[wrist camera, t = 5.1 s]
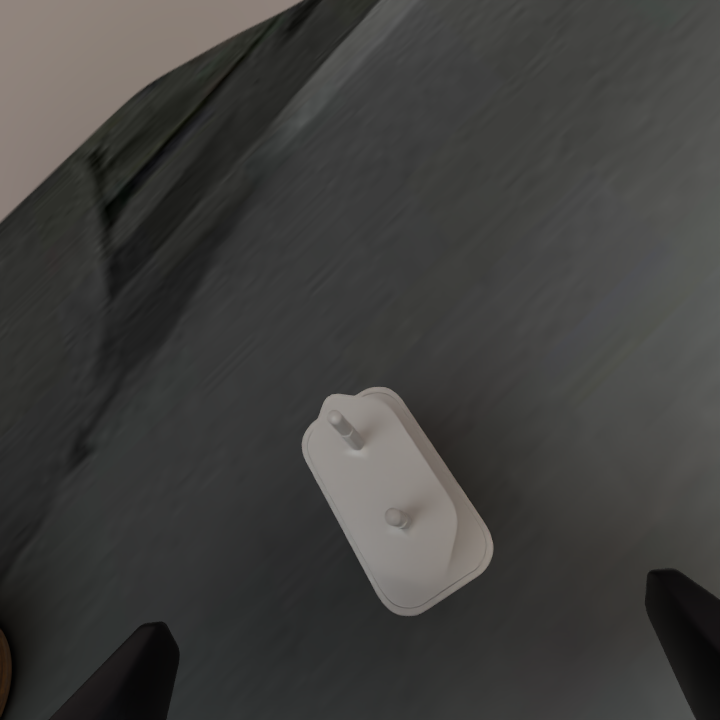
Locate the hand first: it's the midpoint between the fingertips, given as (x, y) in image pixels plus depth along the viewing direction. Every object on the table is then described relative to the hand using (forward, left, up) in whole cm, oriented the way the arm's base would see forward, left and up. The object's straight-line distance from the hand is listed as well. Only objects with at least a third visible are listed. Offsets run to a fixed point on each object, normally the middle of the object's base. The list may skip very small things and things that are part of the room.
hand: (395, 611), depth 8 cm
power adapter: (+1, +2, -10) cm, 10 cm away
